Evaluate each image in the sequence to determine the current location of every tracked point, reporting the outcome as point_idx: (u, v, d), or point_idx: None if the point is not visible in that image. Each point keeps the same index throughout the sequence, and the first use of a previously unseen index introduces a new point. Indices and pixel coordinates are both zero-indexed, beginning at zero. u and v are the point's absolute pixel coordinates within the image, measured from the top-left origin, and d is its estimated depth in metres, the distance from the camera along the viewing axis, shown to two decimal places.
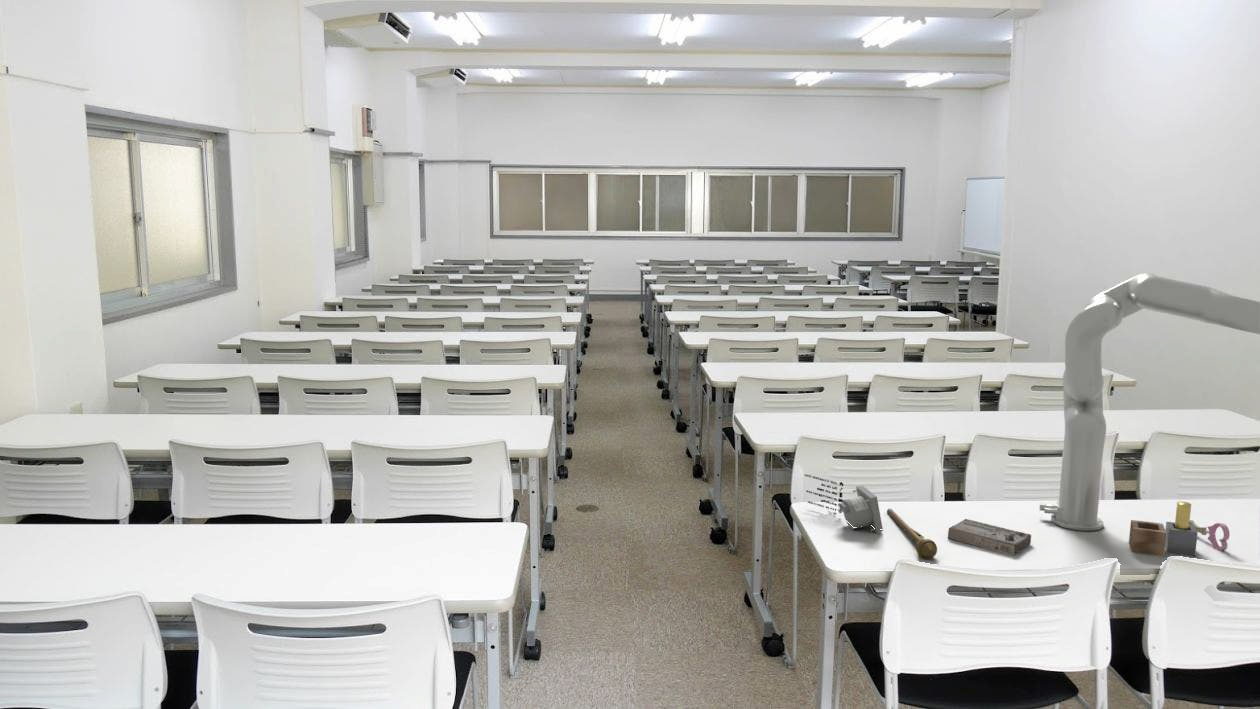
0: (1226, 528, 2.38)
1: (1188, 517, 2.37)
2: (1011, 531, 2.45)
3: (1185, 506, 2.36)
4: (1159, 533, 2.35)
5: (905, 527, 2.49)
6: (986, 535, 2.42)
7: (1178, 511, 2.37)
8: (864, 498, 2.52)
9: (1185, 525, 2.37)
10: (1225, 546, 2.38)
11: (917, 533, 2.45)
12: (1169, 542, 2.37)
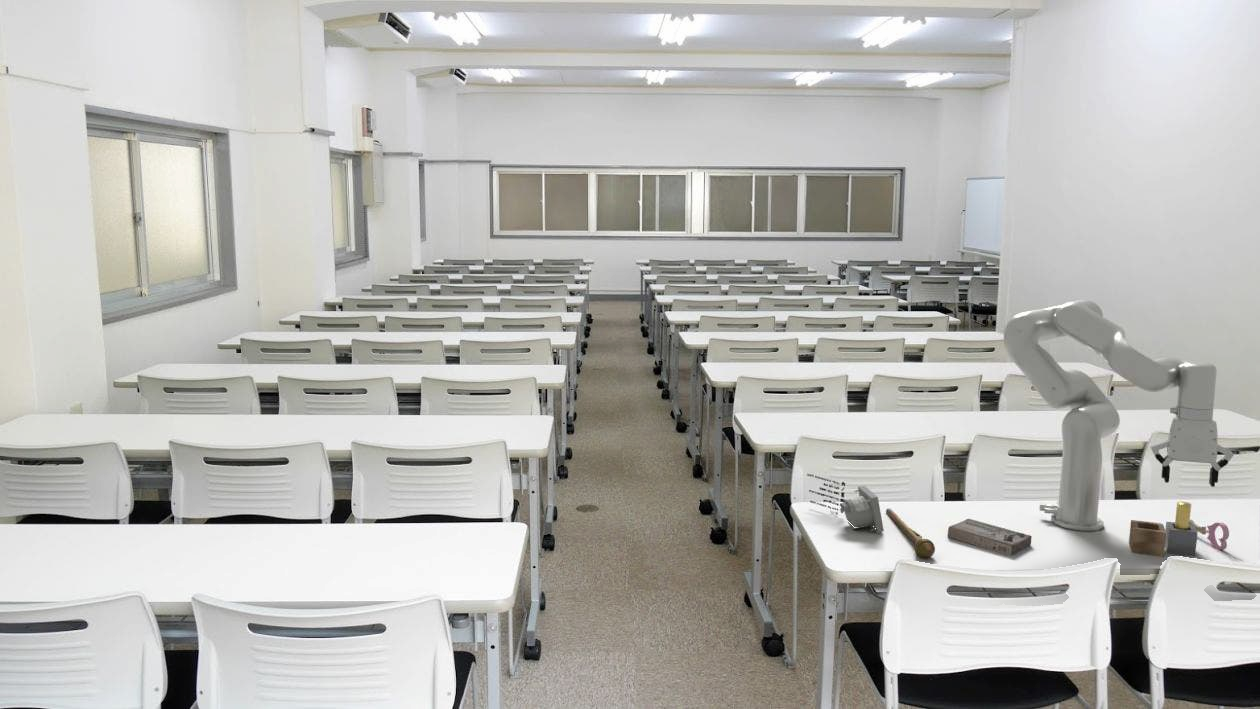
0: (1226, 527, 2.38)
1: (1188, 517, 2.37)
2: (1012, 532, 2.44)
3: (1185, 506, 2.36)
4: (1159, 533, 2.35)
5: (903, 527, 2.50)
6: (985, 535, 2.42)
7: (1178, 511, 2.37)
8: (865, 498, 2.52)
9: (1185, 525, 2.37)
10: (1224, 545, 2.39)
11: (915, 533, 2.45)
12: (1169, 542, 2.37)
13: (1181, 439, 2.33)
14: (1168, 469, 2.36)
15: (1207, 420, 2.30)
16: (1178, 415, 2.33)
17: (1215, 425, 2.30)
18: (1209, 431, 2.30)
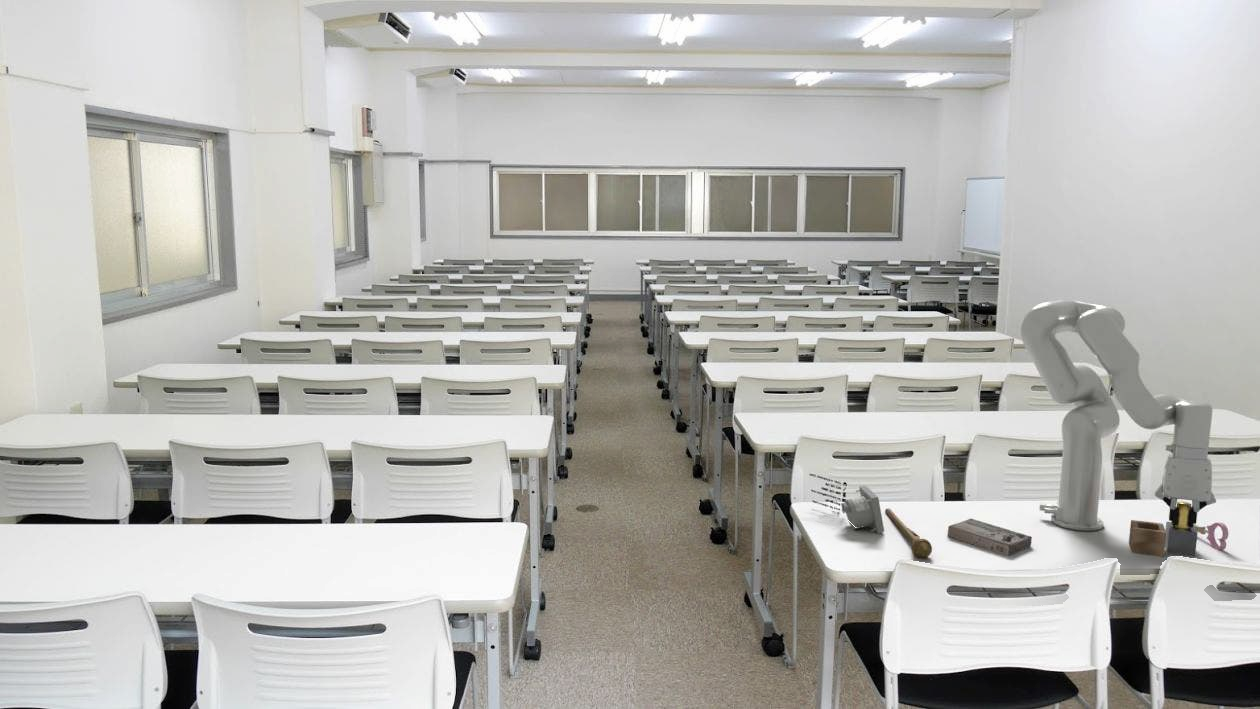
0: (1225, 527, 2.38)
1: (1188, 517, 2.37)
2: (1012, 532, 2.44)
3: (1185, 506, 2.36)
4: (1159, 533, 2.35)
5: (902, 527, 2.50)
6: (984, 534, 2.42)
7: (1178, 511, 2.37)
8: (866, 498, 2.52)
9: (1185, 525, 2.37)
10: (1224, 545, 2.39)
11: (913, 533, 2.45)
12: (1169, 542, 2.37)
13: (1176, 477, 2.35)
14: (1176, 512, 2.37)
15: (1202, 459, 2.32)
16: (1173, 453, 2.35)
17: (1210, 464, 2.32)
18: (1204, 470, 2.32)
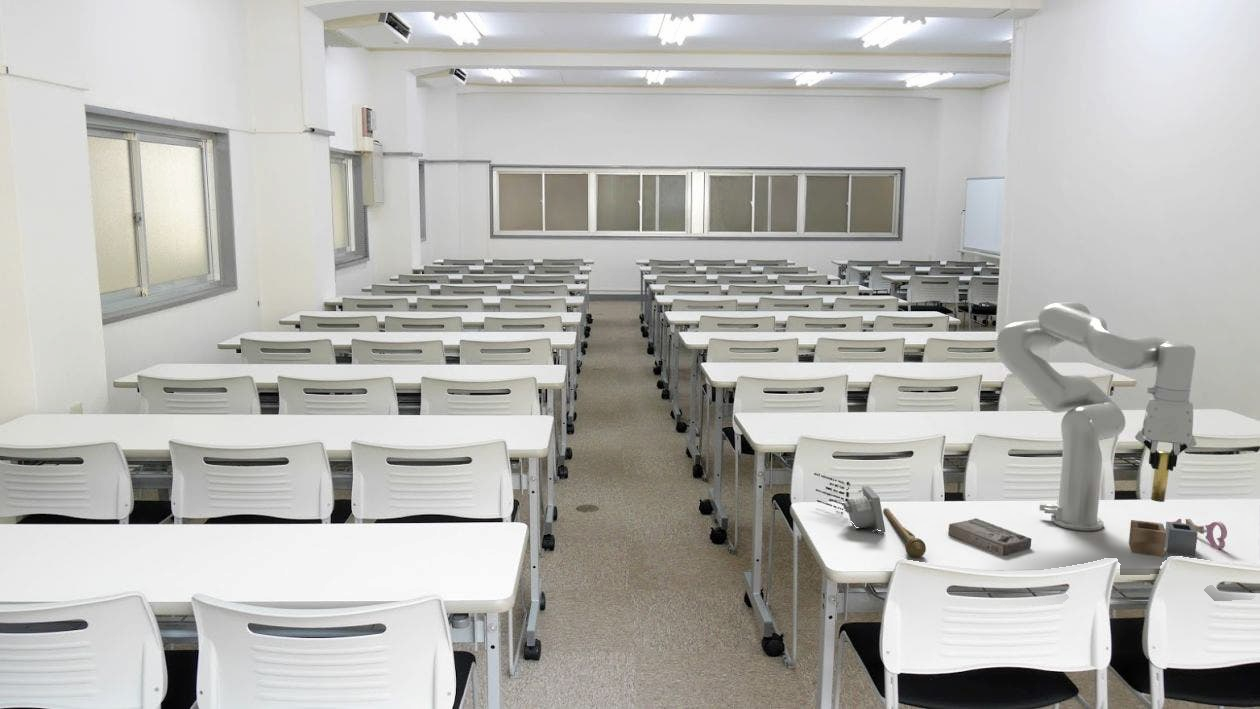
0: (1223, 527, 2.39)
1: (1168, 466, 2.35)
2: (1013, 533, 2.43)
3: (1165, 454, 2.34)
4: (1159, 533, 2.35)
5: (898, 526, 2.50)
6: (982, 534, 2.42)
7: (1158, 460, 2.36)
8: (867, 498, 2.51)
9: (1164, 474, 2.35)
10: (1223, 545, 2.39)
11: (909, 532, 2.46)
12: (1169, 542, 2.37)
13: (1157, 419, 2.33)
14: (1156, 455, 2.35)
15: (1184, 401, 2.30)
16: (1155, 395, 2.33)
17: (1191, 406, 2.30)
18: (1185, 412, 2.30)
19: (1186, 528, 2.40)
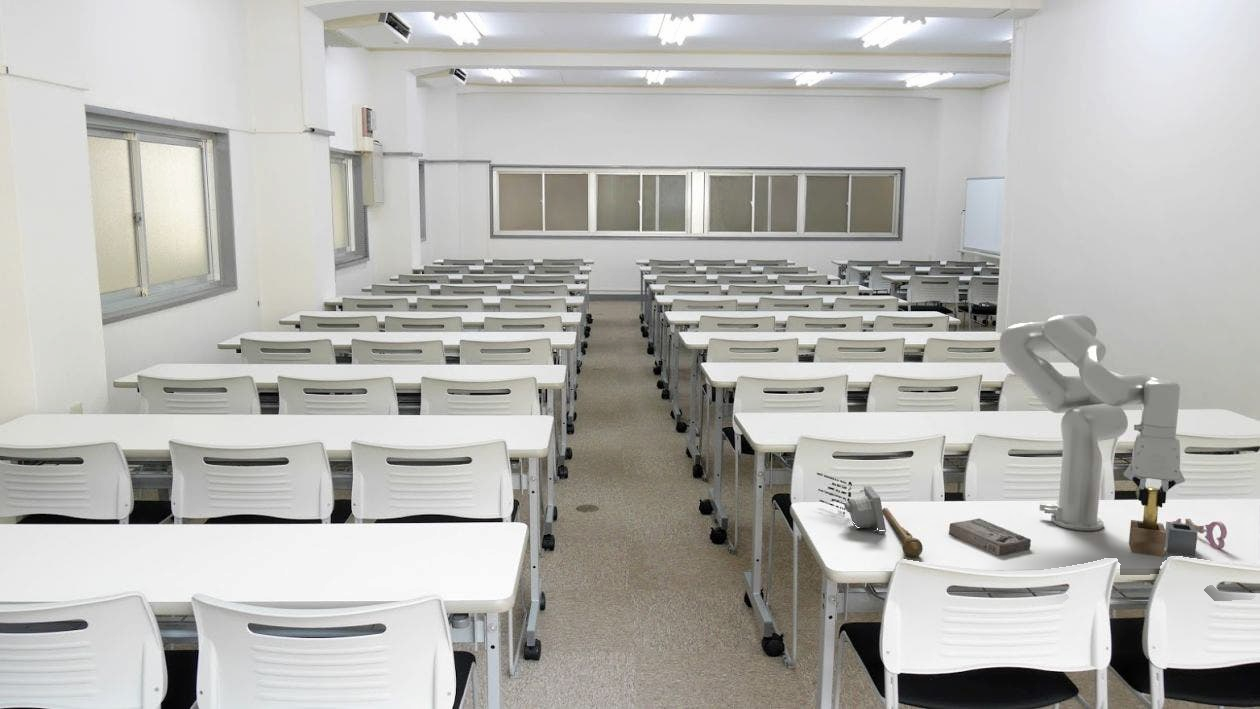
0: (1223, 526, 2.39)
1: (1157, 502, 2.36)
2: (1013, 534, 2.43)
3: (1153, 491, 2.36)
4: (1159, 533, 2.35)
5: (896, 526, 2.50)
6: (981, 534, 2.43)
7: (1147, 497, 2.37)
8: (868, 498, 2.51)
9: (1154, 511, 2.36)
10: (1222, 544, 2.39)
11: (906, 532, 2.46)
12: (1169, 542, 2.37)
13: (1144, 456, 2.34)
14: (1145, 492, 2.36)
15: (1170, 438, 2.31)
16: (1142, 432, 2.35)
17: (1178, 443, 2.32)
18: (1172, 449, 2.32)
19: (1186, 528, 2.40)
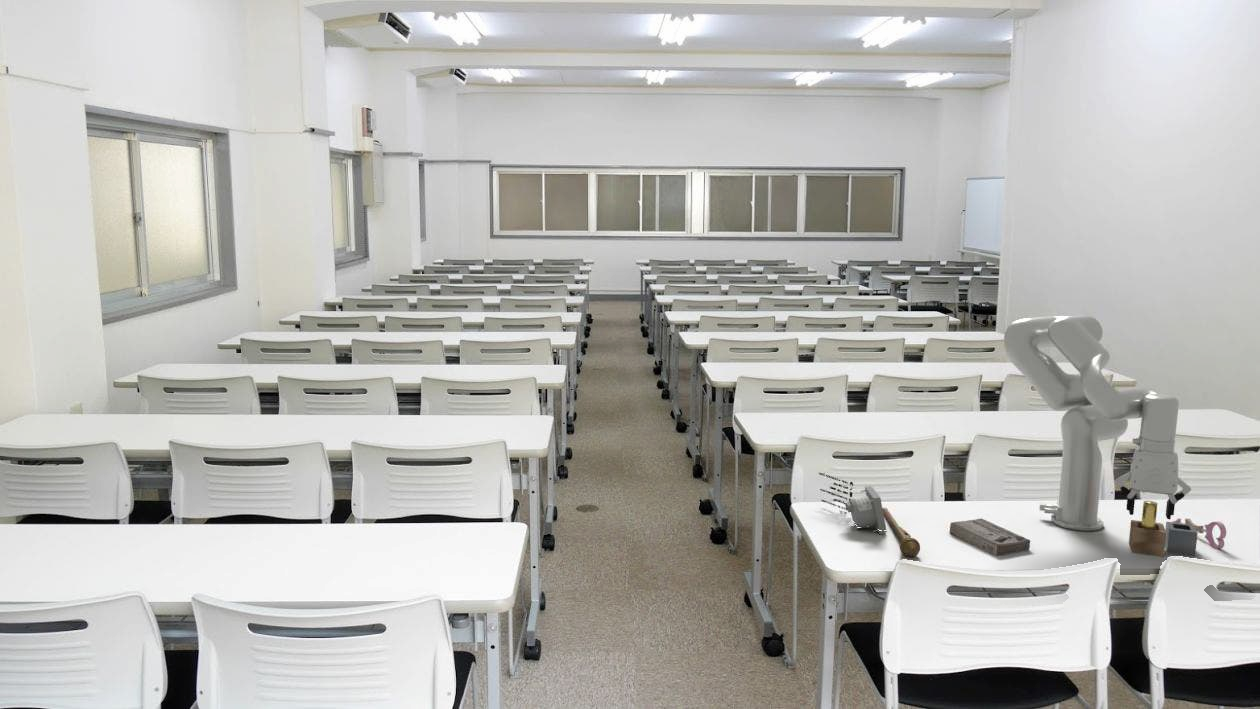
0: (1223, 526, 2.39)
1: (1154, 516, 2.37)
2: (1013, 534, 2.42)
3: (1151, 505, 2.36)
4: (1159, 533, 2.35)
5: (894, 526, 2.50)
6: (980, 533, 2.43)
7: (1144, 510, 2.38)
8: (869, 498, 2.51)
9: (1151, 525, 2.37)
10: (1222, 544, 2.39)
11: (905, 532, 2.46)
12: (1169, 542, 2.37)
13: (1142, 470, 2.35)
14: (1133, 502, 2.38)
15: (1168, 452, 2.32)
16: (1140, 446, 2.35)
17: (1176, 457, 2.32)
18: (1170, 463, 2.32)
19: (1186, 528, 2.40)
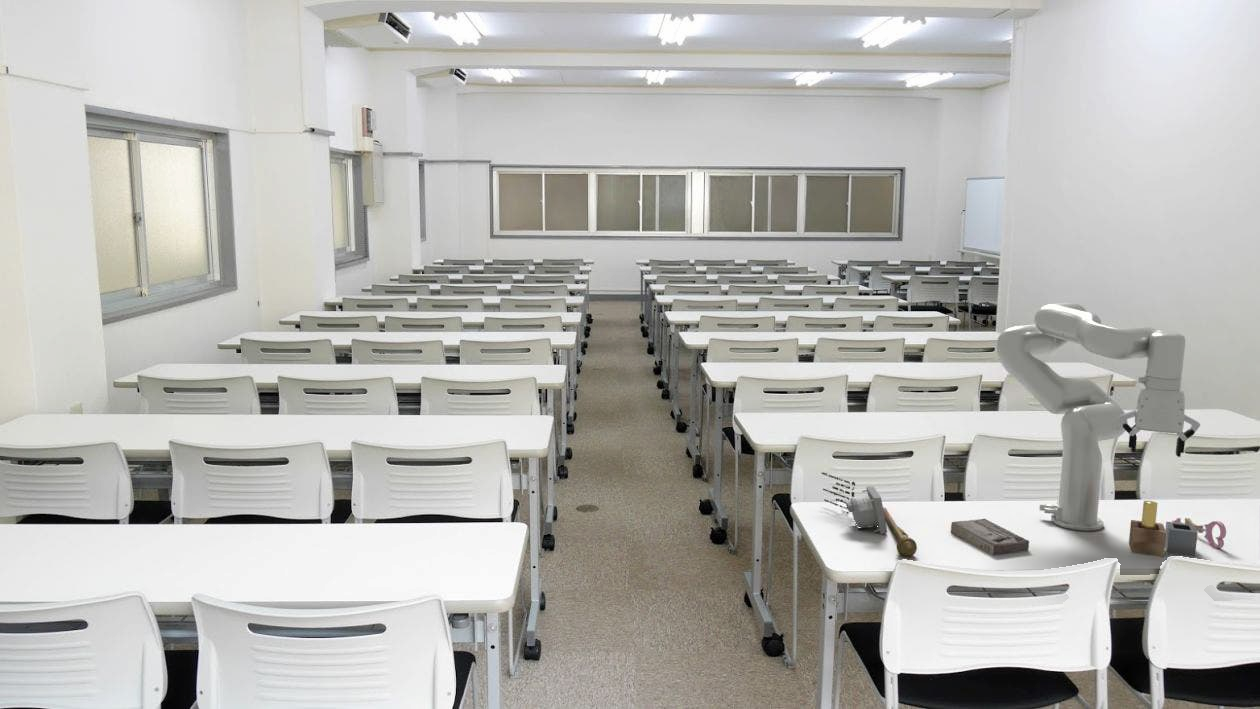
0: (1223, 526, 2.39)
1: (1154, 516, 2.37)
2: (1013, 535, 2.42)
3: (1151, 505, 2.36)
4: (1159, 533, 2.35)
5: (892, 525, 2.51)
6: (980, 533, 2.43)
7: (1144, 510, 2.38)
8: (870, 498, 2.51)
9: (1151, 525, 2.37)
10: (1221, 544, 2.40)
11: (902, 531, 2.46)
12: (1169, 542, 2.37)
13: (1148, 409, 2.33)
14: (1135, 439, 2.36)
15: (1174, 390, 2.30)
16: (1146, 385, 2.33)
17: (1182, 395, 2.30)
18: (1176, 401, 2.30)
19: (1186, 528, 2.40)
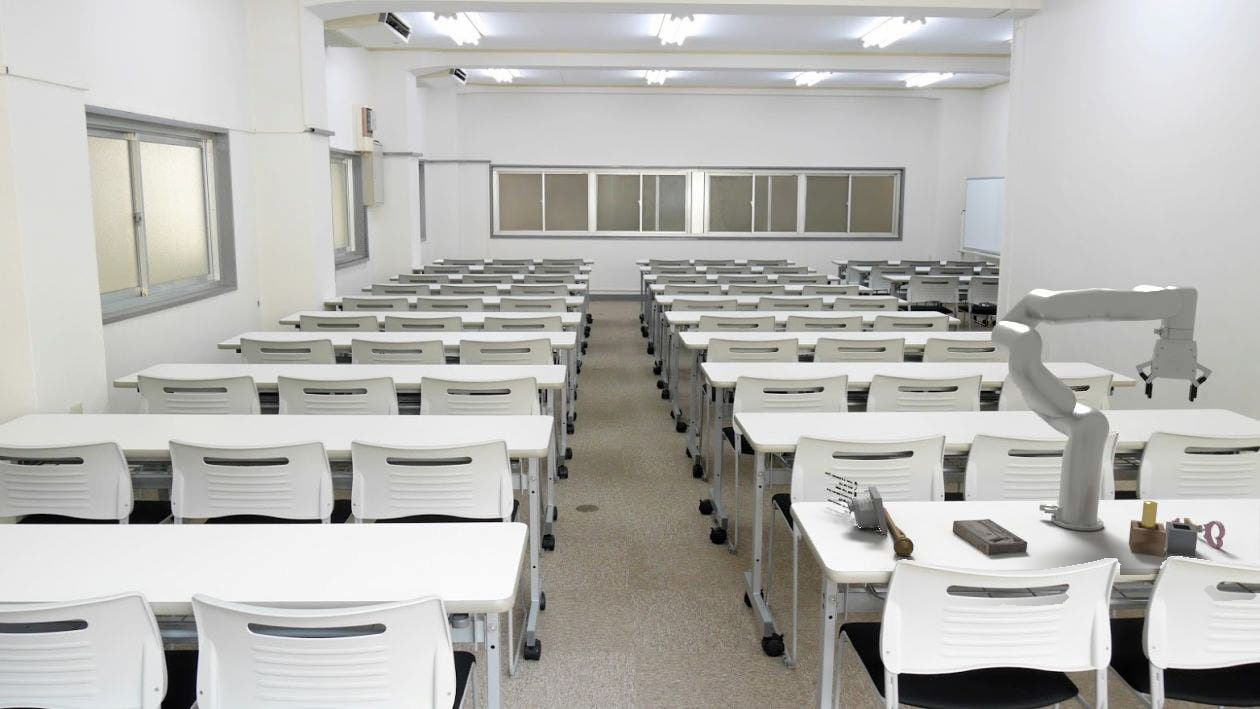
0: (1222, 526, 2.40)
1: (1154, 516, 2.37)
2: (1012, 536, 2.42)
3: (1151, 505, 2.36)
4: (1159, 533, 2.35)
5: (890, 525, 2.51)
6: (978, 532, 2.43)
7: (1144, 510, 2.38)
8: (871, 498, 2.51)
9: (1151, 525, 2.37)
10: (1221, 544, 2.40)
11: (900, 531, 2.46)
12: (1169, 542, 2.37)
13: (1163, 357, 2.51)
14: (1151, 386, 2.54)
15: (1187, 339, 2.48)
16: (1161, 335, 2.51)
17: (1195, 344, 2.48)
18: (1189, 349, 2.48)
19: (1186, 528, 2.40)
